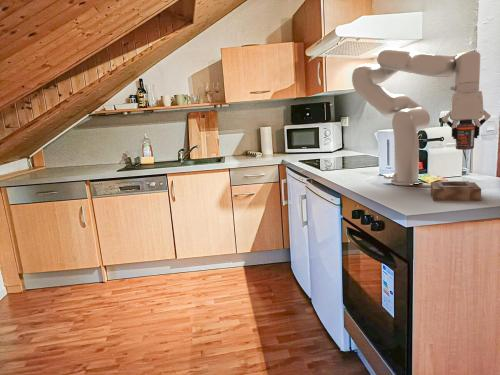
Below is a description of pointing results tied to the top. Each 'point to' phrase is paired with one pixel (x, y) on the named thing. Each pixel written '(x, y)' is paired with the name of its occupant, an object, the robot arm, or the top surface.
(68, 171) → the top surface
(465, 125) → the supplement bottle
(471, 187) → the jig
